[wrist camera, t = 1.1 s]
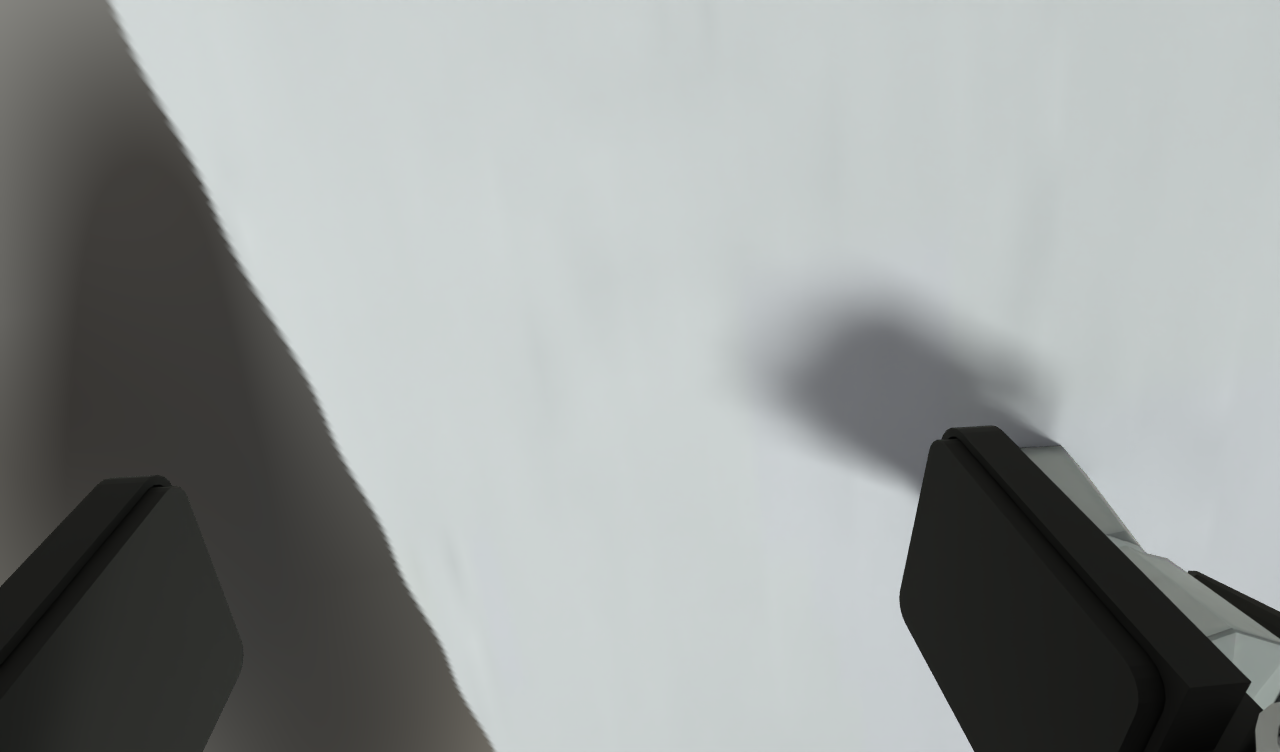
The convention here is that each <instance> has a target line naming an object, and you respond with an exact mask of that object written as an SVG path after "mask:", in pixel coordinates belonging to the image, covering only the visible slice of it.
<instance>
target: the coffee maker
mask: <svg viewBox="0 0 1280 752" xmlns="http://www.w3.org/2000/svg"><path fill="white" fill-rule="evenodd" d="M1020 449H1021V450H1022V451H1023V452H1024V453H1025V454H1026V455H1027V456H1028V457H1029V458H1030V459H1031V460H1032V461H1033V462H1034V463H1035V464H1036V465H1037V466H1038V467H1039V468H1040V469H1041V470H1042V471H1043V472H1044V473H1045V474H1046V475H1047V476H1048V477H1049V478H1050V479H1051V480H1052V481H1053V482H1054V483H1055V484H1056V485H1057V486H1058V487H1059V488H1060V489H1061V490H1062V491H1063V492H1064V493H1065V494H1066V495H1067V496H1068V497H1069V498H1070V499H1071V500H1072V501H1073V502H1074V503H1075V504H1076V505H1077V507H1078V508H1079V509H1080V510H1081V511H1082V512H1083V513H1084V514H1085V515H1086V516H1087V517H1088V518H1089V519H1090V520H1091V521H1092V522H1093V523H1094V524H1095V525H1096V526H1097V527H1098V528H1099V529H1100V530H1101V531H1102V532H1103V533H1104V534H1105V535H1106V536H1107V537H1108V538H1109V539H1110V540H1111V541H1112V542H1113V543H1114V544H1115V545H1116V546H1117V547H1118V548H1119V549H1120V550H1121V551H1122V552H1123V553H1124V554H1125V555H1126V556H1127V557H1128V558H1129V559H1130V560H1131V561H1132V562H1133V563H1134V564H1135V565H1136V566H1137V567H1138V568H1139V569H1140V570H1141V571H1142V572H1143V573H1144V574H1145V575H1146V576H1147V577H1148V578H1149V579H1150V580H1151V581H1152V582H1153V583H1154V584H1155V585H1156V586H1157V587H1158V588H1159V589H1160V590H1161V591H1162V592H1163V593H1164V594H1165V595H1166V596H1167V597H1168V598H1169V599H1170V600H1171V601H1172V602H1173V603H1174V604H1175V605H1176V606H1177V607H1178V608H1179V609H1180V610H1181V611H1182V612H1183V613H1184V614H1185V615H1186V616H1187V617H1188V618H1189V619H1190V620H1191V621H1192V622H1193V623H1194V624H1195V625H1196V626H1197V627H1198V628H1199V629H1200V630H1201V631H1202V632H1203V633H1204V634H1205V635H1206V636H1207V637H1208V638H1209V639H1210V640H1211V641H1212V642H1213V643H1214V644H1215V645H1216V647H1217V648H1218V649H1219V650H1220V651H1221V652H1222V653H1223V654H1224V655H1225V656H1226V657H1227V658H1228V659H1229V660H1230V661H1231V662H1232V663H1233V664H1234V665H1235V666H1236V667H1237V668H1238V669H1239V670H1240V671H1241V672H1242V673H1243V674H1244V675H1245V676H1246V677H1247V678H1248V679H1249V680H1250V681H1251V684H1250V686H1249V688H1248V690H1247V691H1246V693H1247V694H1248V695H1249V696H1250V697H1251V698H1252V699H1253V700H1254V701H1255V702H1256V703H1257V704H1258V705H1259V706H1260V707H1261V708H1262V709H1263V710H1264V709H1266V708H1267V707H1268V706H1269V705H1271V704H1272V703H1276V702H1280V612H1279V611H1277V610H1275V609H1273V608H1271V607H1269V606H1267V605H1265V604H1263V603H1261V602H1259V601H1257V600H1255V599H1253V598H1251V597H1249V596H1247V595H1245V594H1242V593H1240V592H1238V591H1236V590H1234V589H1232V588H1230V587H1228V586H1226V585H1224V584H1222V583H1220V582H1218V581H1216V580H1214V579H1212V578H1210V577H1208V576H1206V575H1204V574H1202V573H1200V572H1198V571H1188V573H1187V572H1186V571H1184V570H1183V569H1181V568H1180V567H1179V566H1177V565H1176V564H1174V563H1173V562H1172V561H1170V560H1169V559H1167V558H1164V557H1159V556H1155V555H1151V554H1147V553H1146V552H1145V551H1144V550H1143V549H1142V547H1141V546H1140V545H1139V543H1138V542H1137V541H1136V539H1135V538H1134V537H1133V536H1132V534H1131V533H1130V532H1129V530H1128V529H1127V528H1126V526H1125V525H1124V524H1123V522H1122V521H1121V520H1120V518H1119V517H1118V516H1117V514H1116V513H1115V512H1114V510H1113V509H1112V508H1111V506H1110V505H1109V504H1108V502H1107V501H1106V500H1105V498H1104V497H1103V496H1102V494H1101V493H1100V492H1099V490H1098V489H1097V488H1096V486H1095V485H1094V484H1093V482H1092V481H1091V480H1090V479H1089V477H1088V476H1087V475H1086V474H1085V472H1084V471H1083V470H1082V469H1081V468H1080V467H1079V465H1078V464H1077V463H1076V462H1075V461H1074V460H1073V458H1072V457H1071V456H1070V455H1069V454H1068V453H1067V451H1066V450H1065V449H1064V448H1063V447H1062V446H1048V447H1029V448H1020Z"/></svg>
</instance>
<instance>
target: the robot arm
mask: <svg viewBox="0 0 1280 752" xmlns="http://www.w3.org/2000/svg"><path fill="white" fill-rule="evenodd" d="M899 599H900V608H901V613H902V616H903V619H904V621H905V623H906V625H907V627H908V629H909V631H910V633H911V635H912V636H913V638H914V640H915V642H916V644H917V646H918V648H919V650H920V651H921V653H922V655H923V657H924V659H925V661H926V663H927V664H928V666H929V668H930V670H931V672H932V674H933V676H934V677H935V679H936V681H937V683H938V685H939V687H940V689H941V690H942V692H943V694H944V696H945V698H946V700H947V702H948V704H949V705H950V707H951V709H952V711H953V713H954V715H955V717H956V718H957V720H958V722H959V724H960V726H961V728H962V730H963V731H964V733H965V735H966V737H967V739H968V741H969V743H970V744H971V746H972V748H973V750H974V752H1280V702H1276V703H1272V704H1271V705H1269V706H1268V707H1267V708H1266V709H1264V710H1263V709H1262V708H1261V707H1260V706H1259V705H1258V704H1257V703H1256V702H1255V701H1254V700H1253V699H1252V698H1251V697H1250V696H1249V695H1248V694H1247V693H1246V691H1247V690H1248V688H1249V686H1250V684H1251V681H1250V680H1249V679H1248V678H1247V677H1246V676H1245V675H1244V674H1243V673H1242V672H1241V671H1240V670H1239V669H1238V668H1237V667H1236V666H1235V665H1234V664H1233V663H1232V662H1231V661H1230V660H1229V659H1228V658H1227V657H1226V656H1225V655H1224V654H1223V653H1222V652H1221V651H1220V650H1219V649H1218V648H1217V647H1216V645H1215V644H1214V643H1213V642H1212V641H1211V640H1210V639H1209V638H1208V637H1207V636H1206V635H1205V634H1204V633H1203V632H1202V631H1201V630H1200V629H1199V628H1198V627H1197V626H1196V625H1195V624H1194V623H1193V622H1192V621H1191V620H1190V619H1189V618H1188V617H1187V616H1186V615H1185V614H1184V613H1183V612H1182V611H1181V610H1180V609H1179V608H1178V607H1177V606H1176V605H1175V604H1174V603H1173V602H1172V601H1171V600H1170V599H1169V598H1168V597H1167V596H1166V595H1165V594H1164V593H1163V592H1162V591H1161V590H1160V589H1159V588H1158V587H1157V586H1156V585H1155V584H1154V583H1153V582H1152V581H1151V580H1150V579H1149V578H1148V577H1147V576H1146V575H1145V574H1144V573H1143V572H1142V571H1141V570H1140V569H1139V568H1138V567H1137V566H1136V565H1135V564H1134V563H1133V562H1132V561H1131V560H1130V559H1129V558H1128V557H1127V556H1126V555H1125V554H1124V553H1123V552H1122V551H1121V550H1120V549H1119V548H1118V547H1117V546H1116V545H1115V544H1114V543H1113V542H1112V541H1111V540H1110V539H1109V538H1108V537H1107V536H1106V535H1105V534H1104V533H1103V532H1102V531H1101V530H1100V529H1099V528H1098V527H1097V526H1096V525H1095V524H1094V523H1093V522H1092V521H1091V520H1090V519H1089V518H1088V517H1087V516H1086V515H1085V514H1084V513H1083V512H1082V511H1081V510H1080V509H1079V508H1078V507H1077V505H1076V504H1075V503H1074V502H1073V501H1072V500H1071V499H1070V498H1069V497H1068V496H1067V495H1066V494H1065V493H1064V492H1063V491H1062V490H1061V489H1060V488H1059V487H1058V486H1057V485H1056V484H1055V483H1054V482H1053V481H1052V480H1051V479H1050V478H1049V477H1048V476H1047V475H1046V474H1045V473H1044V472H1043V471H1042V470H1041V469H1040V468H1039V467H1038V466H1037V465H1036V464H1035V463H1034V462H1033V461H1032V460H1031V459H1030V458H1029V457H1028V456H1027V455H1026V454H1025V453H1024V452H1023V451H1022V450H1021V449H1020V448H1019V447H1018V446H1017V445H1016V444H1015V443H1014V442H1013V441H1012V440H1011V439H1010V438H1009V437H1008V436H1007V435H1006V434H1005V433H1004V432H1003V431H1002V430H1001V429H999V428H998V427H996V426H977V427H960V428H950V429H948V430H947V431H946V432H945V433H944V435H943V437H942V440H936V441H934V442H933V443H932V445H931V447H930V450H929V454H928V459H927V464H926V469H925V474H924V478H923V483H922V488H921V493H920V498H919V503H918V507H917V512H916V517H915V522H914V527H913V531H912V536H911V541H910V546H909V551H908V555H907V560H906V565H905V570H904V575H903V579H902V584H901V589H900V596H899ZM242 663H243V645H242V641H241V639H240V636H239V633H238V631H237V628H236V625H235V623H234V620H233V617H232V615H231V612H230V609H229V606H228V604H227V601H226V599H225V596H224V593H223V590H222V588H221V586H220V582H219V580H218V577H217V575H216V572H215V569H214V567H213V564H212V561H211V558H210V556H209V553H208V550H207V548H206V545H205V543H204V540H203V537H202V535H201V532H200V529H199V527H198V524H197V521H196V518H195V516H194V513H193V510H192V508H191V505H190V502H189V500H188V497H187V495H186V493H185V491H184V490H183V489H182V488H181V487H177V486H172V485H171V483H170V482H169V481H168V480H167V479H166V478H165V477H162V476H159V475H155V476H138V477H137V476H136V477H119V478H109V479H105V480H103V481H102V482H100V483H99V484H98V485H97V486H96V487H95V488H94V489H93V490H92V491H91V492H90V493H89V494H88V495H87V496H86V497H85V498H84V499H83V501H82V502H81V503H80V504H79V505H78V506H77V507H76V508H75V509H74V510H73V511H72V512H71V513H70V514H69V515H68V516H67V517H66V518H65V520H63V522H62V523H61V524H60V525H59V526H58V527H57V528H56V529H55V530H54V531H53V532H52V533H51V534H50V535H49V536H48V537H47V538H46V539H45V540H44V542H43V543H42V544H41V545H40V546H39V547H38V548H37V549H36V550H35V551H34V552H33V553H32V554H31V555H30V556H29V557H28V558H27V559H26V561H25V562H24V563H23V564H22V565H21V566H20V567H19V568H18V569H17V570H16V571H15V572H14V573H13V574H12V575H11V576H10V577H9V578H8V579H7V580H6V582H5V583H4V584H3V585H2V586H1V587H0V752H203V750H204V748H205V745H206V744H207V742H208V739H209V737H210V735H211V733H212V731H213V729H214V727H215V725H216V723H217V721H218V719H219V716H220V714H221V712H222V710H223V708H224V706H225V704H226V702H227V700H228V698H229V695H230V693H231V691H232V689H233V687H234V685H235V683H236V681H237V679H238V677H239V674H240V671H241V668H242Z"/></svg>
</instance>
